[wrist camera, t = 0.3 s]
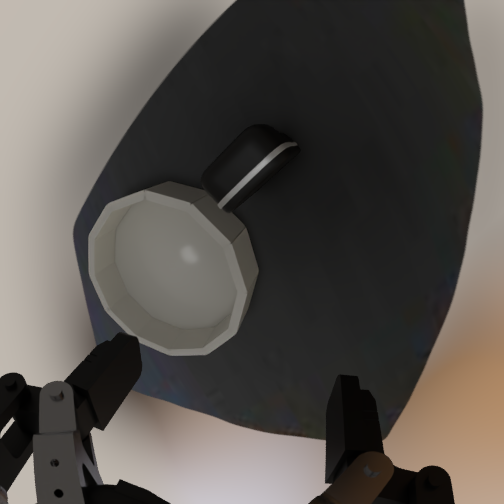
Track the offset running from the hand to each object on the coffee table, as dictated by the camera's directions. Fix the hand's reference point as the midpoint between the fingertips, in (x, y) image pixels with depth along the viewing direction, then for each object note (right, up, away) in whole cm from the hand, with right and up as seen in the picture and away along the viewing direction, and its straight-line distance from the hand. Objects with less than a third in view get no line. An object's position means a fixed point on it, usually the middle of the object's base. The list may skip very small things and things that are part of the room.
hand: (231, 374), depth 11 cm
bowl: (-9, +3, +27) cm, 28 cm away
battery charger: (+2, +14, +20) cm, 25 cm away
